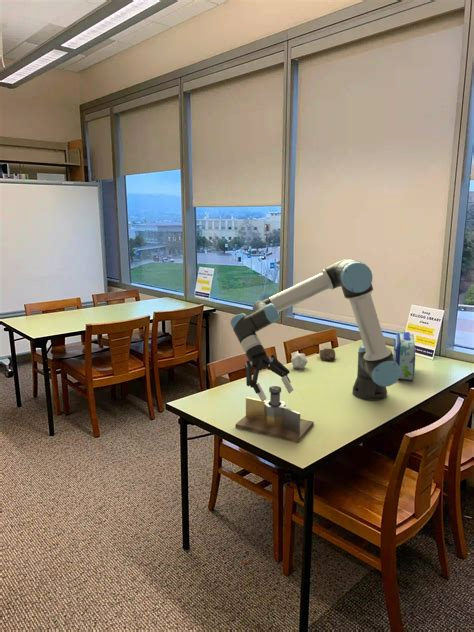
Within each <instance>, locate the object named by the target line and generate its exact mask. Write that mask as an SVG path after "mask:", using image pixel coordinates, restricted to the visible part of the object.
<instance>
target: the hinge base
mask: <svg viewBox="0 0 474 632" xmlns="http://www.w3.org/2000/svg"><path fill="white" fill-rule="evenodd" d="M314 422H315V421H312V420H307V419H303V418H300V434H297V433H294V432H292V431H290V430H288V429H286V428H284V427H270V426H267V425H266V424H265V423H264V421H263V420H258V419H254V418H250V417H246V415H245V416H243V417H242V418H241V419H240V420H238V421H237V422H236V423H235V428H236V429H241V430H245V431H248V432H252V433H256V434H261V435H265V436H269V437H273V438H276V439H281V440H285V441H289V442H293V443H297V444H299V443H300V442H301V441H302V440H303V439H304V437H305V436H306V435H307V434H308V432H309V431H310V430H311V429H312V428H313V426H315V425H314V424H315V423H314Z"/></svg>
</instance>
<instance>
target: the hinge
mask: <svg viewBox="0 0 474 632" xmlns="http://www.w3.org/2000/svg"><path fill="white" fill-rule="evenodd" d="M286 406H287V405H286V402H285V401H284V400H281V399H280V406H271V405H270V399H268V400H267V399H266V400H264V401H263V402H262V401H261V399H257V398H252V397H247V396H246V397H245V416H246V417H250V418H254V419H258V420H263V421H264V423H265V424H266V425H267V426H270V427H284V428H286V429H288V430H290V431H292V432H294V433H297V434H300V419H301V413H300V412H298V411H295V410H293V409H291V408H288V407H286Z"/></svg>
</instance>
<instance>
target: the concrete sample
mask: <svg viewBox="0 0 474 632" xmlns="http://www.w3.org/2000/svg"><path fill="white" fill-rule="evenodd" d="M318 355H319V357H320V358H321V360H323V361H324V362H330V361H331V362H334V361H335V360H336V350H335V349H334V348H323V349H320V350H319V354H318Z"/></svg>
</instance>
